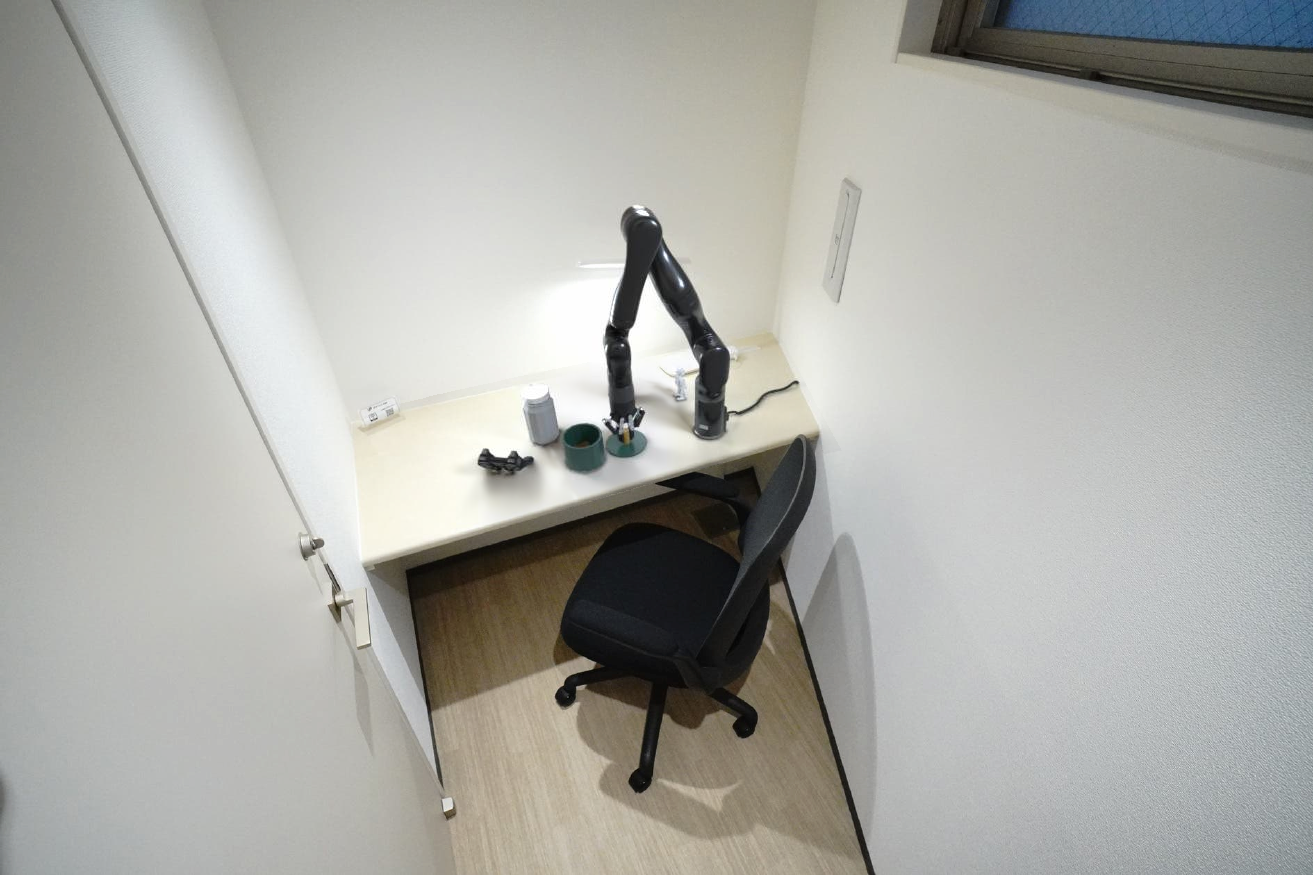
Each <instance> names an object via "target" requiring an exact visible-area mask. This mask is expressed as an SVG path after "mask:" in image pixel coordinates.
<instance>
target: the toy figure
mask: <svg viewBox="0 0 1313 875" xmlns="http://www.w3.org/2000/svg"><path fill="white" fill-rule="evenodd" d="M674 372H675V377H674V383H675V385H676V387H677V393H675V394H674V397H677V398H676V401H682V400H683V401H684V400H685V397H684V395H685V394H684V393H685V390H687V385H686V380H685V378H684V376H685V374H686V372H685V367H683V366H677V367H676V368H675V371H674Z"/></svg>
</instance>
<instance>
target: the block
mask: <svg viewBox="0 0 1313 875" xmlns="http://www.w3.org/2000/svg"><path fill="white" fill-rule="evenodd" d="M587 446H590V444H589V443H588V441H586V442H583V443H580V444H578V445H575V446H574V447H577V448H581V447H587Z"/></svg>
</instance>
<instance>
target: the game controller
mask: <svg viewBox="0 0 1313 875" xmlns="http://www.w3.org/2000/svg"><path fill="white" fill-rule="evenodd" d="M534 462H535V458H534V456H532V455H527V456H525V457H521V455H519V452H518V451H517V450H511V451H510V452H509V455H508V456H507V457H500V456H495V455H494V454H492V453H491V451H490V449H489V448H486V447H485V448H482V450H481V452H480V453H479V455H478V458H477V466H478V467H480V468H484V469H491V472H492V473H494V474H499V473H500V471H502V469H503V470H504V473H505V474H506V475H512V474H513V473H514V472H521V471H523V469H525V468H527V467H529V466H530V465H532V464H533V463H534Z"/></svg>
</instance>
